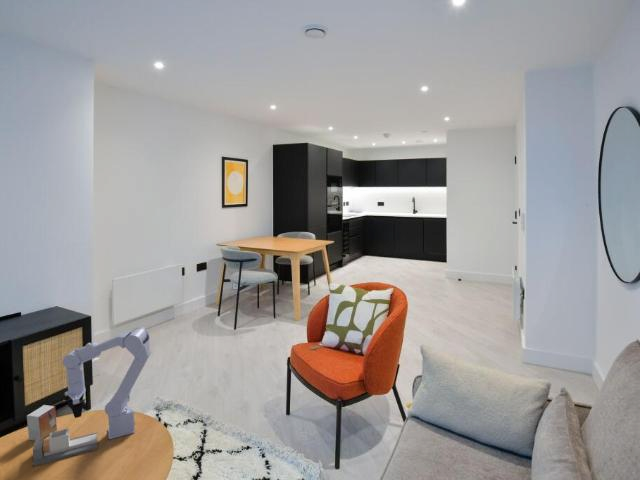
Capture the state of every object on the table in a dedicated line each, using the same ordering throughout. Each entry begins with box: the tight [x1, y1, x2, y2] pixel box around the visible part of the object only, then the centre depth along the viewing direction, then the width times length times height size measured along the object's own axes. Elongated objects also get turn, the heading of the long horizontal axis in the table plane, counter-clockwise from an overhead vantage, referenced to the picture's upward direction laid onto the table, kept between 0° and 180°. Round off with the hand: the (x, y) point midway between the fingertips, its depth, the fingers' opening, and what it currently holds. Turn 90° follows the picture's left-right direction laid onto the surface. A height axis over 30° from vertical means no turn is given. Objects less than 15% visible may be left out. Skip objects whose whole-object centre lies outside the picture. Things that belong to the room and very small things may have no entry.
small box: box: [26, 404, 58, 442], centre depth 159 cm, size 8×6×10 cm
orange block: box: [43, 438, 50, 453], centre depth 148 cm, size 2×4×2 cm, turn 28°
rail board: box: [32, 431, 98, 467], centre depth 151 cm, size 20×10×5 cm, turn 119°
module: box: [48, 428, 71, 452], centre depth 149 cm, size 6×4×5 cm
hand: (78, 412), depth 159 cm, fingers open, 7 cm apart
